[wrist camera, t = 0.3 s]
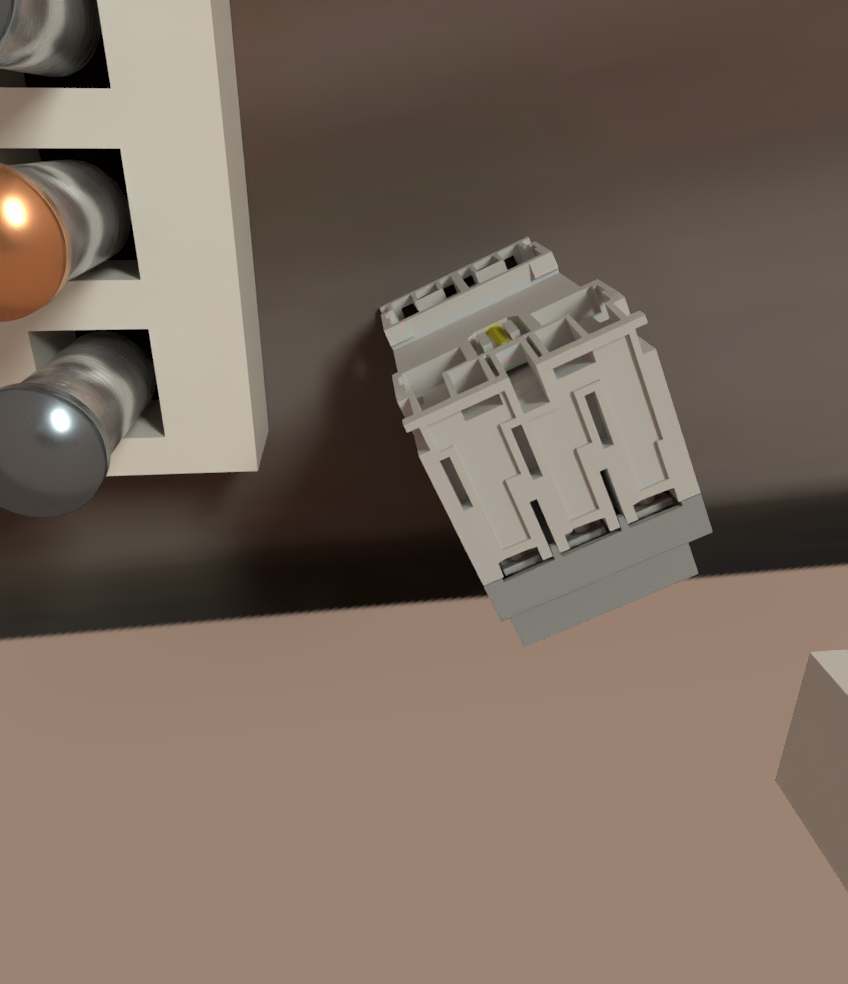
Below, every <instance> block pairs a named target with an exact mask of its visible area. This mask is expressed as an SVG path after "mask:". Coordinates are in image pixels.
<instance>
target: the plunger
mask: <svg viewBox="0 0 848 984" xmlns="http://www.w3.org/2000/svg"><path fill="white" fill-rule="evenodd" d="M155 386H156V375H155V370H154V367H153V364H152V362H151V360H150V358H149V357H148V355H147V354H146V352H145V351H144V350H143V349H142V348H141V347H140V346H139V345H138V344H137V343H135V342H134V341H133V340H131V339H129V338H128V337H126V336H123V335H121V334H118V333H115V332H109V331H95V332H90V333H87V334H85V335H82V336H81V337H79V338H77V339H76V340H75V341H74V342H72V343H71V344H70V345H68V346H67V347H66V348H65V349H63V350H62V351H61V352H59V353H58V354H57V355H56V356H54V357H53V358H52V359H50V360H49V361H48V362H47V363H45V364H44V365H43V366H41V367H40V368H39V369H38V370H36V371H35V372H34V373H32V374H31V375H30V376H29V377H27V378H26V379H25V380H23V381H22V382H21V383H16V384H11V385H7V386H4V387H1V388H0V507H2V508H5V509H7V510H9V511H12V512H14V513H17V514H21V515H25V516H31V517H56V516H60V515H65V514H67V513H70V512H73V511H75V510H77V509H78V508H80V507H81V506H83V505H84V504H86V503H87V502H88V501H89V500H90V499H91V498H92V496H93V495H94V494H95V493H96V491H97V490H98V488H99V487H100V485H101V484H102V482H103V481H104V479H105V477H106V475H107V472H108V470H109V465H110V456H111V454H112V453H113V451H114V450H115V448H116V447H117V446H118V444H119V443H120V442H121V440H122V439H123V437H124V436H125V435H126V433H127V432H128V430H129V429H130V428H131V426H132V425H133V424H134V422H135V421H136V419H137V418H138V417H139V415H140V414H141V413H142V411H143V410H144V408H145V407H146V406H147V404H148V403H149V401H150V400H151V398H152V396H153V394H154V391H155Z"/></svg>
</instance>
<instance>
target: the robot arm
mask: <svg viewBox="0 0 848 984" xmlns="http://www.w3.org/2000/svg"><path fill="white" fill-rule="evenodd" d="M775 781H776V782H777V784H778V785H779V786H780V788H781V790H782V791H783V793H784V794H785V796H786V798H787V799H788V801H789V802H790V804H791V805H792V807H793V808H794V810H795V811H796V813H797V814H798V816H799V817H800V819H801V821H802V822H803V824H804V825H805V827H806V828H807V830H808V831H809V833H810V835H811V836H812V837H813V839H814V841H815V842H816V844H817V845H818V847H819V848H820V850H821V851H822V853H823V854H824V856H825V858H826V859H827V861H828V862H829V864H830V865H831V867H832V868H833V870H834V871H835V873H836V874H837V876H838V878H839V879H840V881H841V882H842V883H843V885H844V887H845V888H846V890H847V891H848V650H835V651H821V652H810V655H809V658H808V662H807V665H806V669H805V673H804V676H803V680H802V684H801V687H800V691H799V695H798V699H797V702H796V706H795V709H794V713H793V717H792V720H791V724H790V728H789V732H788V735H787V739H786V743H785V746H784V750H783V754H782V757H781V761H780V765H779V768H778V772H777V776H776V779H775Z"/></svg>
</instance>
